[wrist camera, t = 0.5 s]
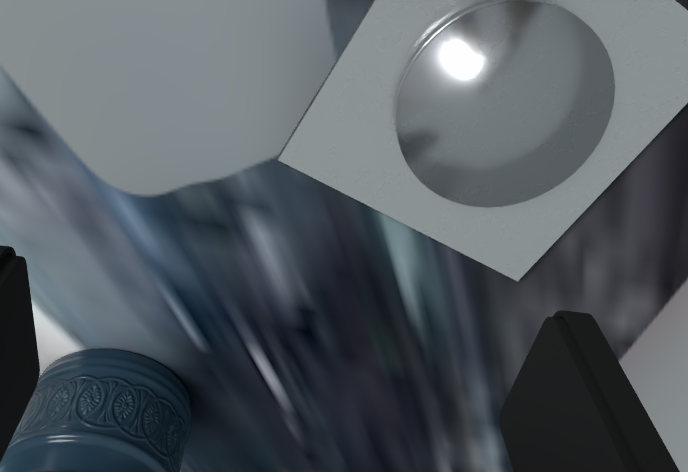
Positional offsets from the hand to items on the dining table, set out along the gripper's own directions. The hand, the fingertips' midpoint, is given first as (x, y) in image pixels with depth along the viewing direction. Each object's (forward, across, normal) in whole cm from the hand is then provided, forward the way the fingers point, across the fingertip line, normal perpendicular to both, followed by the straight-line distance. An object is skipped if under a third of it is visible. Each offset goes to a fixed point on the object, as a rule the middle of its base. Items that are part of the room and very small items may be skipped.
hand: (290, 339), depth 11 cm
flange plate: (+28, -13, +5) cm, 31 cm away
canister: (+28, +11, +35) cm, 46 cm away
